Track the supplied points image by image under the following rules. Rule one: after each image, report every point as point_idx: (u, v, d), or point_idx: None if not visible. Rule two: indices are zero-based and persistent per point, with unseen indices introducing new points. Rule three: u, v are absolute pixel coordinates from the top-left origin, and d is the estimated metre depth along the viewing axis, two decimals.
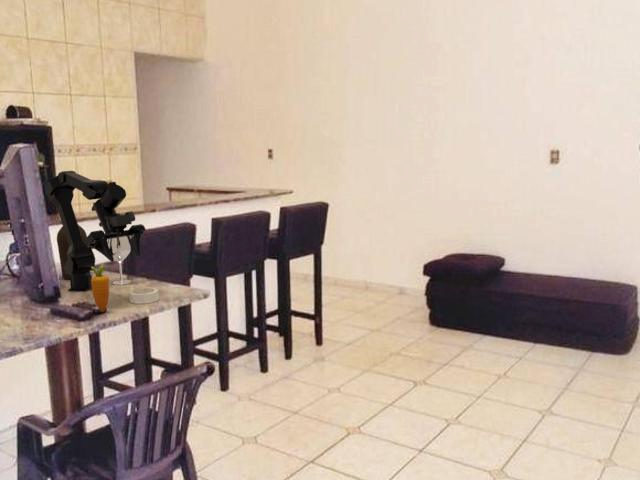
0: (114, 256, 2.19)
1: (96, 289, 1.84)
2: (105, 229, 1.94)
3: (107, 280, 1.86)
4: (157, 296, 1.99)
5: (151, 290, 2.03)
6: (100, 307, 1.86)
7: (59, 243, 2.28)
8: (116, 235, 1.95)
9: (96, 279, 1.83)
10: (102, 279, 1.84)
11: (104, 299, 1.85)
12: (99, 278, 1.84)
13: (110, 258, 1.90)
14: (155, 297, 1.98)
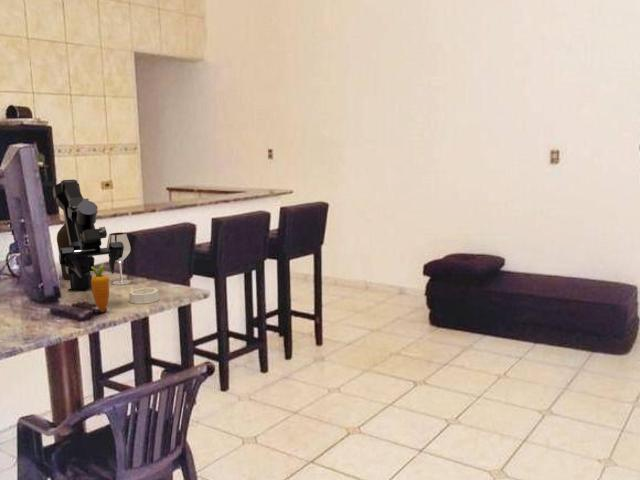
0: None
1: (96, 289, 1.84)
2: (80, 247, 1.92)
3: (107, 280, 1.86)
4: (157, 296, 1.99)
5: (151, 290, 2.03)
6: (100, 307, 1.86)
7: (59, 243, 2.28)
8: (91, 252, 1.91)
9: (96, 279, 1.83)
10: (102, 279, 1.84)
11: (104, 299, 1.85)
12: (99, 278, 1.84)
13: (79, 274, 1.86)
14: (155, 297, 1.98)
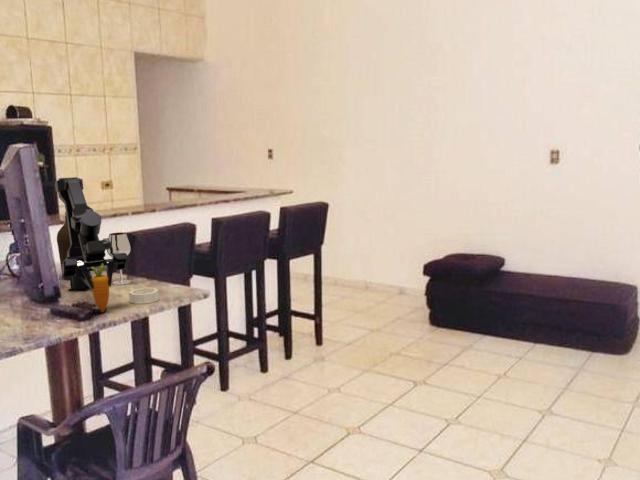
0: None
1: (96, 289, 1.84)
2: (84, 258, 1.88)
3: (107, 280, 1.86)
4: (157, 296, 1.99)
5: (151, 290, 2.03)
6: (100, 307, 1.86)
7: (59, 243, 2.28)
8: (95, 264, 1.88)
9: (96, 279, 1.83)
10: (102, 279, 1.84)
11: (104, 299, 1.85)
12: (99, 278, 1.84)
13: (89, 285, 1.84)
14: (155, 297, 1.98)
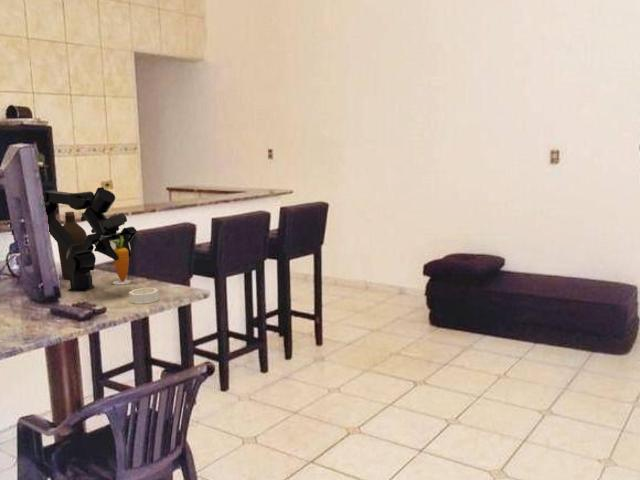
0: None
1: (120, 260, 2.00)
2: (99, 233, 2.02)
3: (127, 251, 2.03)
4: (157, 296, 1.99)
5: (151, 290, 2.03)
6: (122, 277, 2.02)
7: None
8: (110, 238, 2.03)
9: (120, 250, 2.00)
10: (125, 250, 2.01)
11: (127, 268, 2.02)
12: (123, 249, 2.00)
13: (114, 257, 1.99)
14: (155, 297, 1.98)
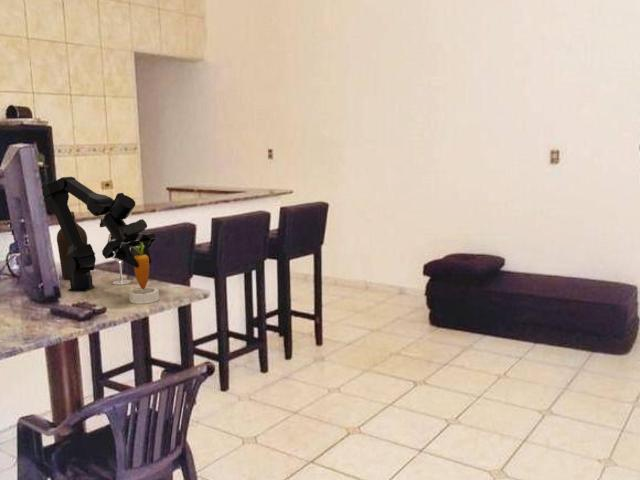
0: (114, 256, 2.19)
1: (141, 267, 1.96)
2: (119, 240, 1.97)
3: None
4: (157, 296, 1.99)
5: (151, 290, 2.03)
6: (143, 284, 1.98)
7: (59, 243, 2.28)
8: (130, 244, 1.99)
9: (141, 257, 1.95)
10: (146, 257, 1.97)
11: (147, 276, 1.98)
12: (143, 256, 1.96)
13: (135, 264, 1.95)
14: (155, 297, 1.98)
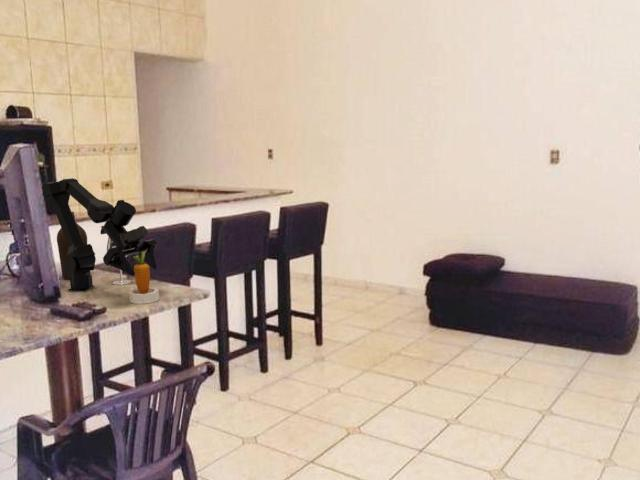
0: None
1: (141, 276, 1.96)
2: (120, 247, 1.98)
3: (148, 267, 1.99)
4: (157, 296, 1.99)
5: (151, 290, 2.03)
6: (143, 293, 1.98)
7: (59, 243, 2.28)
8: (131, 251, 1.99)
9: (141, 267, 1.96)
10: (146, 266, 1.97)
11: (148, 285, 1.99)
12: (144, 265, 1.97)
13: (131, 272, 1.93)
14: (155, 297, 1.98)
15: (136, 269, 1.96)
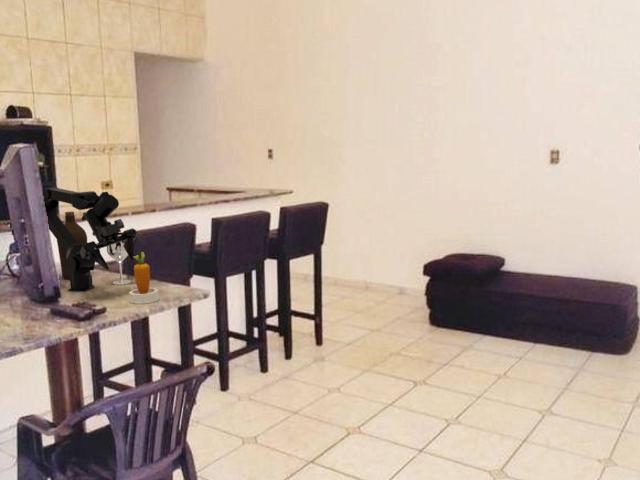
0: (114, 256, 2.19)
1: (142, 276, 1.96)
2: (98, 238, 2.03)
3: None
4: (157, 296, 1.99)
5: (151, 290, 2.03)
6: (143, 293, 1.98)
7: (59, 243, 2.28)
8: (109, 243, 2.04)
9: (142, 267, 1.96)
10: (147, 266, 1.97)
11: (148, 285, 1.99)
12: (144, 265, 1.97)
13: (105, 267, 2.00)
14: (155, 297, 1.98)
15: (136, 269, 1.96)
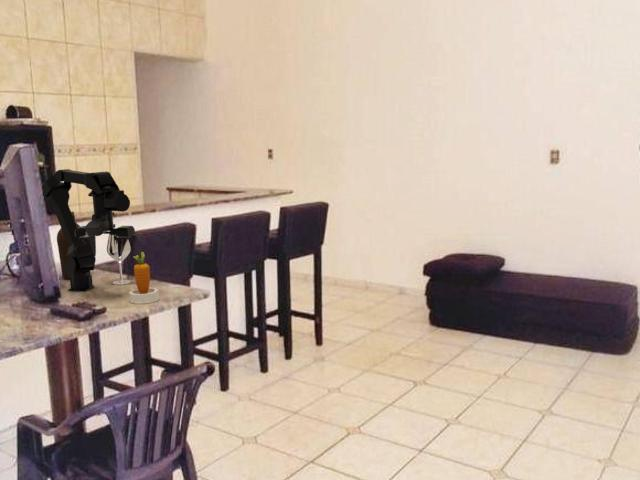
0: (114, 256, 2.19)
1: (142, 276, 1.96)
2: None
3: (148, 267, 1.99)
4: (157, 296, 1.99)
5: (151, 290, 2.03)
6: (143, 293, 1.98)
7: (59, 243, 2.28)
8: (103, 232, 2.04)
9: (142, 267, 1.96)
10: (146, 266, 1.97)
11: (148, 285, 1.99)
12: (144, 265, 1.96)
13: None
14: (155, 297, 1.98)
15: (136, 269, 1.96)
